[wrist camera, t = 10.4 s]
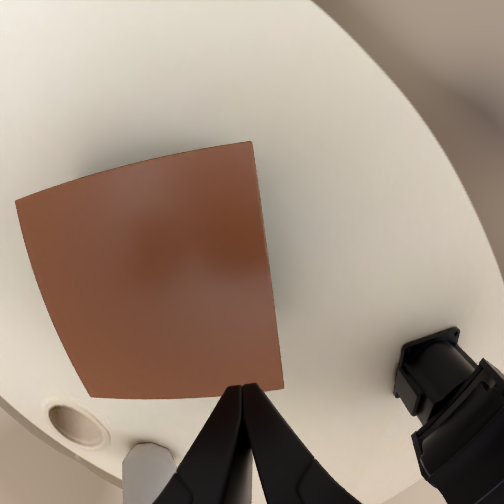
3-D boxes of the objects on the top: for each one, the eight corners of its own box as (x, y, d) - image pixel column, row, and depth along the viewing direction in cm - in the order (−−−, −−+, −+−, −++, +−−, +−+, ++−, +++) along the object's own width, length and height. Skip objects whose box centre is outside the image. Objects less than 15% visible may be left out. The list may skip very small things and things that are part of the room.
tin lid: (251, 141, 11) (252, 140, 10) (282, 380, 15) (284, 388, 14) (22, 198, 11) (14, 200, 10) (94, 390, 15) (90, 397, 14)
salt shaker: (126, 456, 25) (104, 550, 13) (128, 431, 24) (101, 540, 11) (175, 470, 26) (167, 565, 14) (185, 447, 25) (175, 558, 12)
